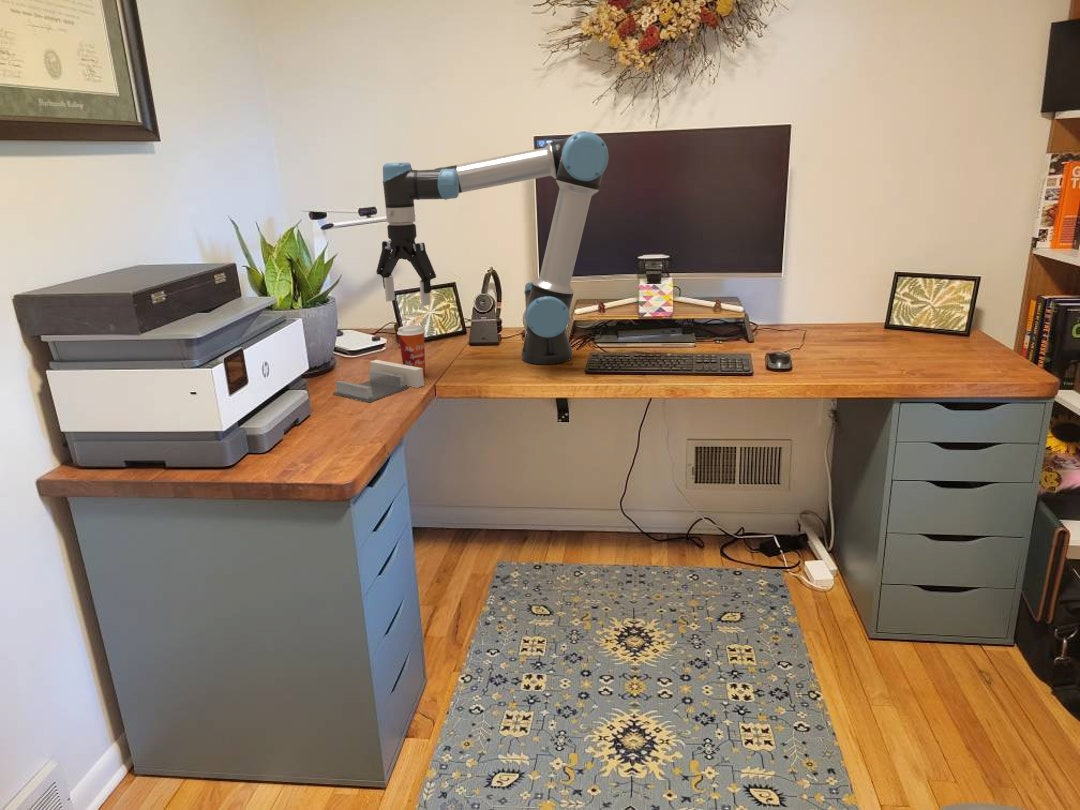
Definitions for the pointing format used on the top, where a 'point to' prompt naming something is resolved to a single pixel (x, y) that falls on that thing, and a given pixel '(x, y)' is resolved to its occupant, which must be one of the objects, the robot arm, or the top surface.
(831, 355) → the top surface
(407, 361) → the paper cup
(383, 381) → the bracket
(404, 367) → the board
